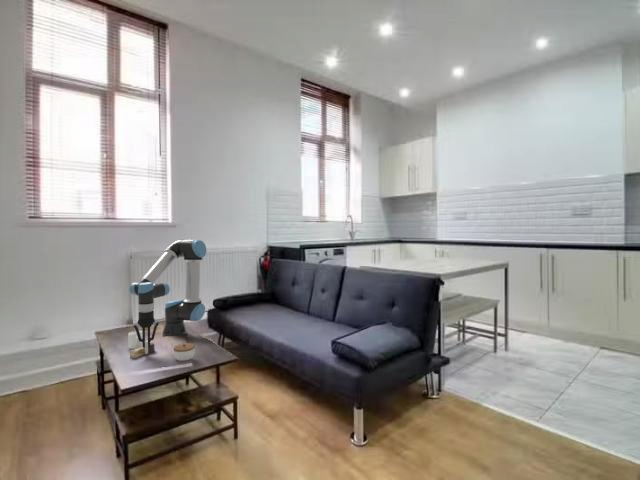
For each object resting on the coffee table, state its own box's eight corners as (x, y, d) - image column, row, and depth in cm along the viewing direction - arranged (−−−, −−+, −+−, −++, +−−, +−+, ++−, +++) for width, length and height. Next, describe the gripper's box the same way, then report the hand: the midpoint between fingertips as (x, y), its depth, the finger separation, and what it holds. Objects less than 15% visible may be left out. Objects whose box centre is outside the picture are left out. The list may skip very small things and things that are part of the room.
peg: (150, 349, 198) (150, 342, 197) (156, 350, 195) (156, 344, 195) (127, 357, 185) (127, 350, 185) (133, 359, 183) (133, 351, 183)
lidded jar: (177, 357, 191) (177, 340, 190) (197, 356, 192) (197, 340, 191) (170, 364, 180) (170, 347, 180) (191, 364, 181) (191, 346, 181)
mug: (129, 354, 194) (129, 337, 194) (128, 348, 204) (128, 331, 204) (144, 351, 198) (144, 335, 198) (143, 345, 208) (143, 329, 208)
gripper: (158, 308, 195) (159, 349, 195) (133, 310, 189) (133, 352, 189) (159, 311, 188) (159, 353, 189) (132, 313, 182) (132, 357, 183)
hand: (146, 353), depth 189 cm, fingers closed
